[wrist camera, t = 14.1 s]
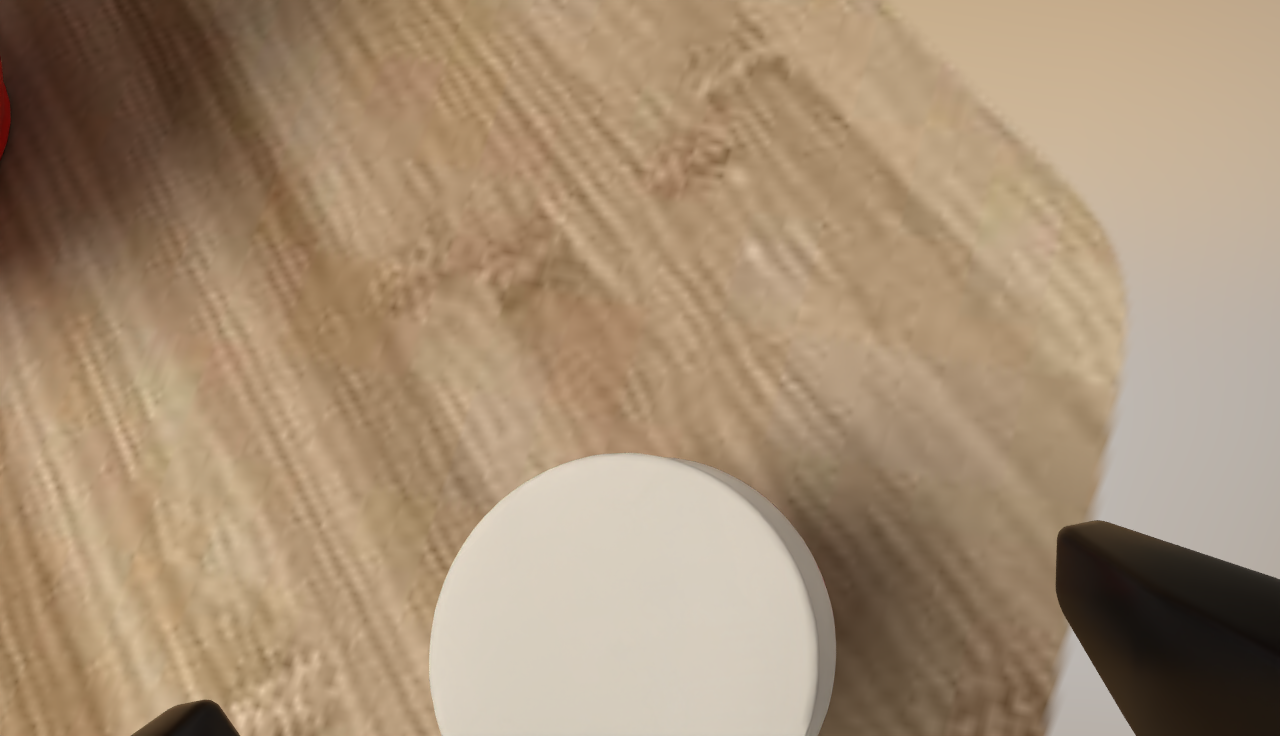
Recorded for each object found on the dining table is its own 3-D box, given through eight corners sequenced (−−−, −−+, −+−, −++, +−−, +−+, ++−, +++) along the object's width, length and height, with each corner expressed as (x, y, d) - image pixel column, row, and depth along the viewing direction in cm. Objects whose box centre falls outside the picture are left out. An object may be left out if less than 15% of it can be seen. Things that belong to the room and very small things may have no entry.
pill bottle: (851, 593, 16) (961, 580, 8) (721, 811, 15) (694, 1047, 7) (652, 463, 17) (570, 335, 9) (522, 657, 16) (305, 707, 8)
